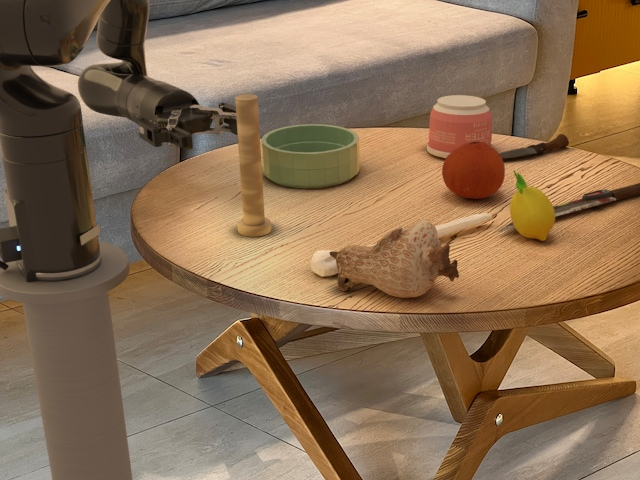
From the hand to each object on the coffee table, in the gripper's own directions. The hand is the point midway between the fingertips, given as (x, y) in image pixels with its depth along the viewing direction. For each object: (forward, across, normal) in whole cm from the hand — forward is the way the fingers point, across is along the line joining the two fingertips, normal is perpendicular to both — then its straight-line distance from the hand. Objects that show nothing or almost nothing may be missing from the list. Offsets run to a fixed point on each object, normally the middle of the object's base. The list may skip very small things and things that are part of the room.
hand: (218, 136), depth 145 cm
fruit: (+16, +31, +11) cm, 37 cm away
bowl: (-6, +18, +11) cm, 22 cm away
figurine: (+40, +7, +6) cm, 41 cm away
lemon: (+35, +27, +11) cm, 45 cm away
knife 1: (+5, +50, +10) cm, 52 cm away
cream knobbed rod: (+25, +12, +11) cm, 30 cm away
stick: (+8, 0, +11) cm, 14 cm away
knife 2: (+28, +23, +10) cm, 38 cm away
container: (0, +43, +2) cm, 43 cm away
